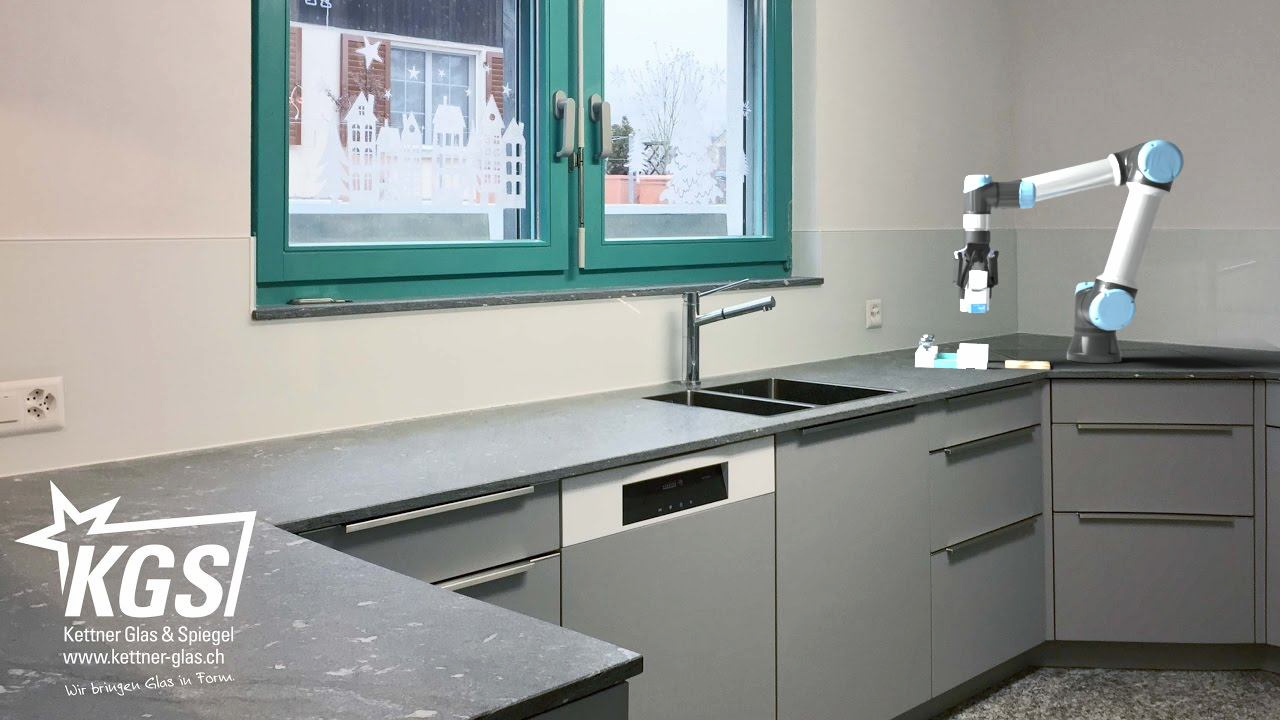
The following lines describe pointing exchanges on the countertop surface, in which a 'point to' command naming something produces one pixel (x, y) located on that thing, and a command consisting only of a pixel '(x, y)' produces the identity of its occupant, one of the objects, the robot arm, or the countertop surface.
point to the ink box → (977, 292)
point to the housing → (954, 357)
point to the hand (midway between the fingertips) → (974, 310)
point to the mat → (1027, 364)
